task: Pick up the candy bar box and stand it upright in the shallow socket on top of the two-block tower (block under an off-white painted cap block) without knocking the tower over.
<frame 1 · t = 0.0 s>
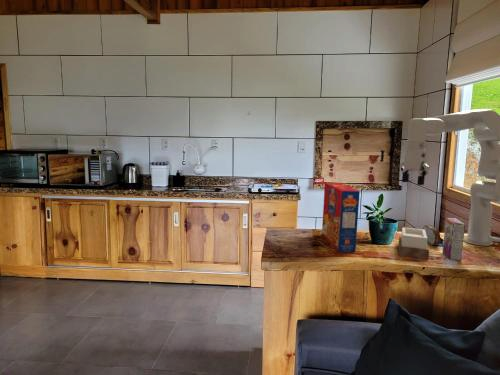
hand: (412, 183, 173), 31 cm above the countertop, tool pointing down, fingers open, 9 cm apart
cereal box: (337, 243, 184), on the countertop
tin: (430, 243, 189), on the countertop
tower top: (413, 243, 173), point 4 cm above the countertop, touching tower base
tower base: (412, 252, 174), on the countertop, touching tower top
candy bar box: (451, 256, 168), on the countertop
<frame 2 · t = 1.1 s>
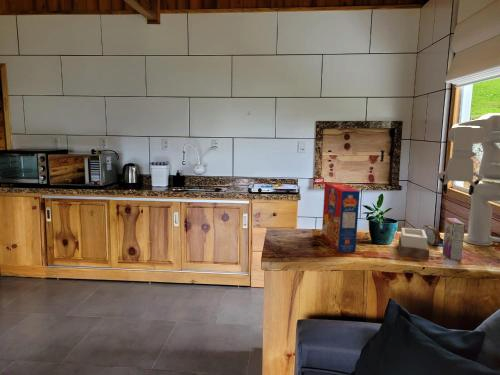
hand: (457, 194, 164), 28 cm above the countertop, tool pointing down, fingers open, 9 cm apart
nothing on the countertop moved.
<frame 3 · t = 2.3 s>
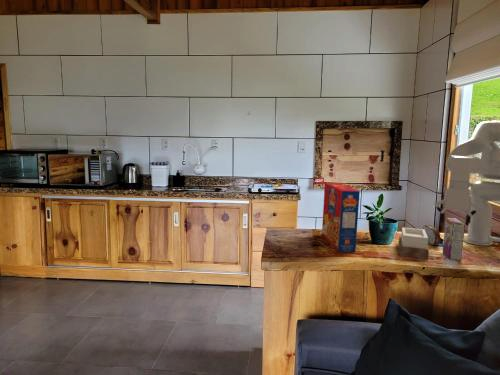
hand: (454, 223, 165), 15 cm above the countertop, tool pointing down, fingers open, 9 cm apart
nothing on the countertop moved.
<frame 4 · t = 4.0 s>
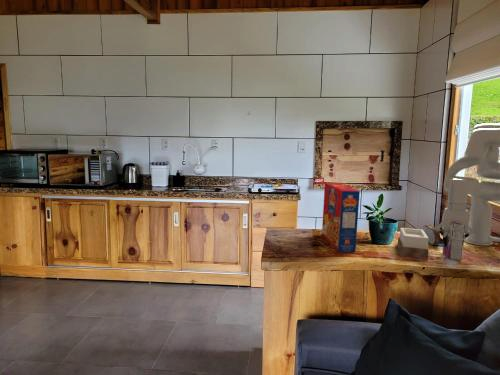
hand: (452, 246, 167), 5 cm above the countertop, tool pointing down, fingers closed on candy bar box, 5 cm apart
tower top: (412, 243, 173), point 4 cm above the countertop
tower base: (411, 252, 174), on the countertop
candy bar box: (451, 256, 168), on the countertop, touching gripper
everything else where it was.
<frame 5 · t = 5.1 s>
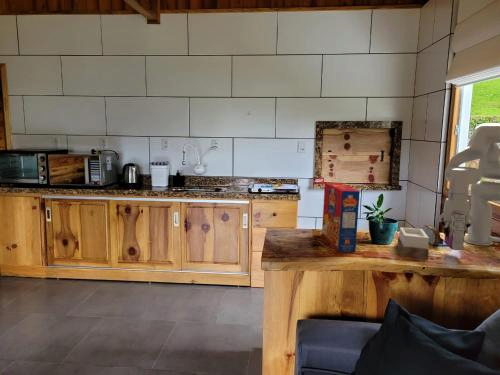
hand: (454, 236, 167), 9 cm above the countertop, tool pointing down, fingers closed on candy bar box, 5 cm apart
tower top: (412, 242, 173), point 4 cm above the countertop, touching tower base
tower base: (411, 252, 174), on the countertop, touching tower top
candy bar box: (452, 246, 168), point 4 cm above the countertop, touching gripper
everything else where it was.
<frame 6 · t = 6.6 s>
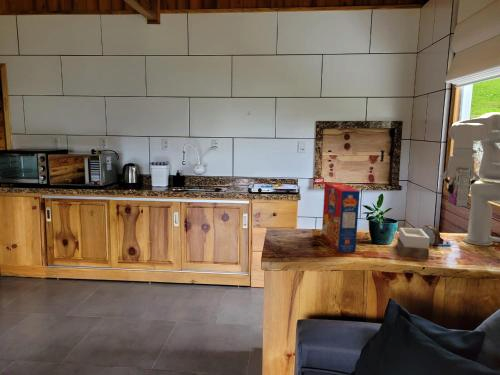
hand: (458, 193, 164), 28 cm above the countertop, tool pointing down, fingers closed on candy bar box, 5 cm apart
candy bar box: (457, 204, 165), point 23 cm above the countertop, touching gripper
everything else where it was.
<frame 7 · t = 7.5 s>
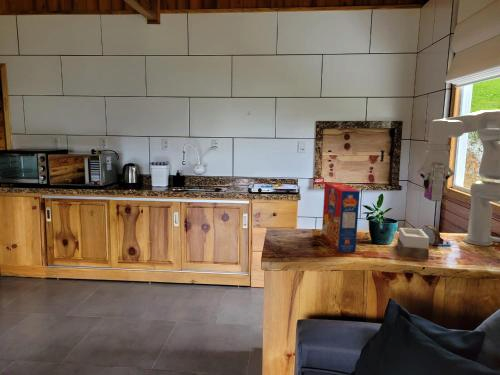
hand: (433, 188, 167), 30 cm above the countertop, tool pointing down, fingers closed on candy bar box, 5 cm apart
candy bar box: (432, 199, 168), point 25 cm above the countertop, touching gripper
everything else where it was.
when the fingers open (12 cm above the countertop, at t = 12.5 s): candy bar box moves 1 cm, resting on tower top.
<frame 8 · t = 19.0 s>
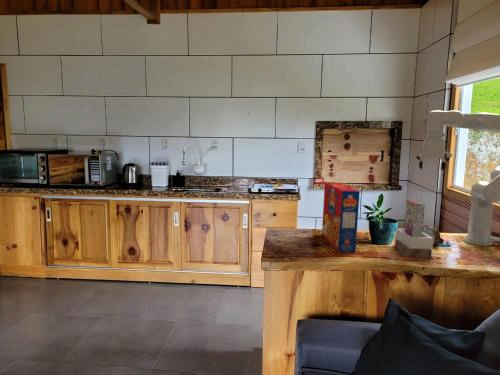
hand: (431, 169, 191), 36 cm above the countertop, tool pointing down, fingers open, 9 cm apart
tower top: (413, 243, 173), point 4 cm above the countertop, touching candy bar box, tower base
candy bar box: (412, 237, 173), point 7 cm above the countertop, touching tower top
at the end: candy bar box 0.6 cm off-centre on the tower base, point 7.4 cm above the tower base's base; candy bar box tilted 1°; tower top moved 0.8 cm from its start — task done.
